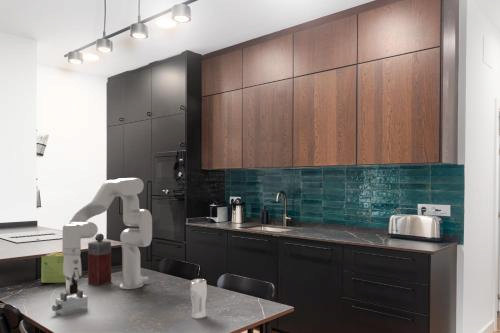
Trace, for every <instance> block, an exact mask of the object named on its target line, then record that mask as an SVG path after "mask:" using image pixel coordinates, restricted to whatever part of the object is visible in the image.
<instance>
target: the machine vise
mask: <svg viewBox="0 0 500 333" xmlns="http://www.w3.org/2000/svg"><path fill="white" fill-rule="evenodd" d="M59 294H60V295H59V296H60V297H55V304H53V305H52V306H51V310H52V312H56V313H57V314H58V315H60V316H61V317H64V316H68V315H72V314H76V313H81V312H84V311H87V310H88V304H89V303H88V299H89V298H88V297H89V296H87V295H85V294H84V291H83V290H81V289H80V288H78V292H77V293H76V294H73V295H69V296H67V294H66V292H64V291H61V292H60V293H59ZM88 311H89V310H88Z"/></svg>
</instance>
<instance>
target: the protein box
mask: <svg viewBox="0 0 500 333" xmlns="http://www.w3.org/2000/svg"><path fill="white" fill-rule="evenodd" d="M40 261H41V262H40V264H41V267H40V268H41V270H40V272H41V273H40V274H41V275H40V276H41V277H40V278H41V280H40V282H41V284H42V283H44V284H45V283H49V284H51V283H54V284H55V283H61V284H62V283H66V282H65V279H66V278H65V275H64V274H63V261H64V256H62V252H50V253H47V254H43V255H41V260H40ZM74 277H75V276H74Z"/></svg>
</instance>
